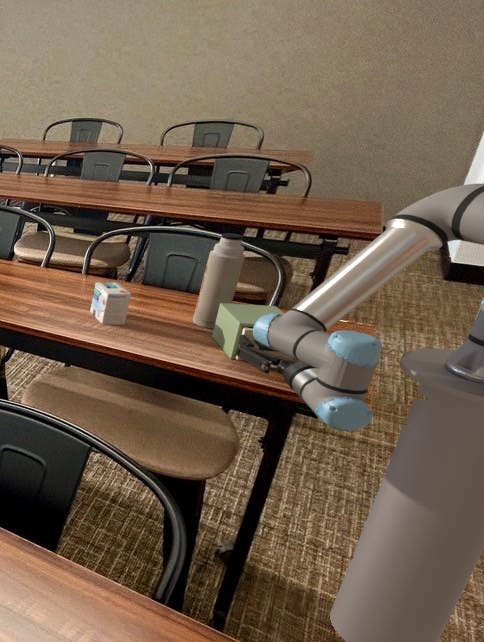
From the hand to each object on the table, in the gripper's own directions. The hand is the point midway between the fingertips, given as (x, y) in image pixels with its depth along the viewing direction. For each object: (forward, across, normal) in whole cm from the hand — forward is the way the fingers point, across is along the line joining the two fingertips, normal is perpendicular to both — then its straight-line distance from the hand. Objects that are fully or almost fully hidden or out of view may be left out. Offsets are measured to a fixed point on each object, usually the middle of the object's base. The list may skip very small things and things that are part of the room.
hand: (270, 341), depth 147 cm
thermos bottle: (+27, -4, -7) cm, 28 cm away
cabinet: (+10, 0, -7) cm, 12 cm away
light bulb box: (+25, -32, -7) cm, 41 cm away
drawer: (+4, 0, -6) cm, 8 cm away
